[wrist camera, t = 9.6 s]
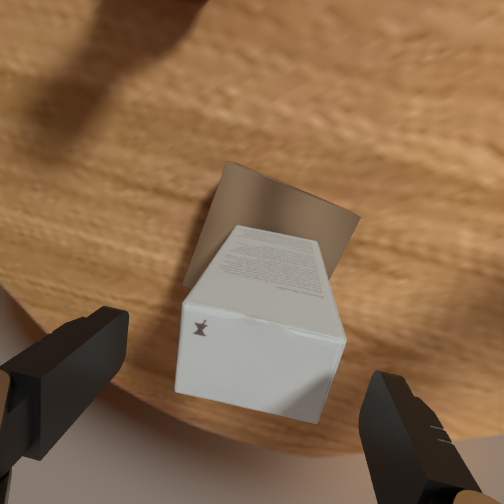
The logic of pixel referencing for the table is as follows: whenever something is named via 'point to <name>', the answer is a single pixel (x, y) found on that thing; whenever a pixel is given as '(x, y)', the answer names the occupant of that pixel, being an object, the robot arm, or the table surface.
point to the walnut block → (269, 217)
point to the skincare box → (262, 327)
